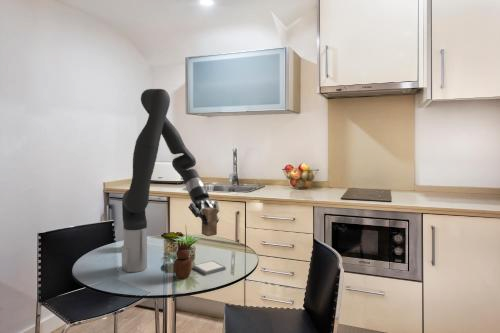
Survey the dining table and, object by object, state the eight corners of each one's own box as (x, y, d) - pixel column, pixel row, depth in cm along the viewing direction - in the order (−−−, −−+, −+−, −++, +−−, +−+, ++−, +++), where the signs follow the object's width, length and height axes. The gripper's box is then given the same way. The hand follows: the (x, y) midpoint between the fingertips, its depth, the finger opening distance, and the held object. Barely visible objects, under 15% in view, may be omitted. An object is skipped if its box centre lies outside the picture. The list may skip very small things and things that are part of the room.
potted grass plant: (174, 280, 132) (174, 242, 131) (173, 274, 138) (173, 238, 137) (192, 279, 134) (192, 241, 133) (190, 273, 140) (190, 237, 139)
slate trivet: (205, 275, 138) (205, 272, 138) (192, 268, 146) (192, 265, 146) (225, 269, 145) (225, 266, 145) (212, 263, 152) (212, 260, 152)
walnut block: (207, 236, 141) (208, 209, 141) (201, 234, 145) (202, 208, 144) (216, 234, 144) (217, 208, 143) (210, 232, 148) (211, 206, 147)
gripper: (185, 186, 144) (200, 220, 136) (214, 184, 153) (229, 216, 145) (179, 197, 149) (193, 230, 140) (207, 194, 158) (222, 226, 149)
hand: (211, 223), depth 143 cm, fingers closed on walnut block, 4 cm apart
